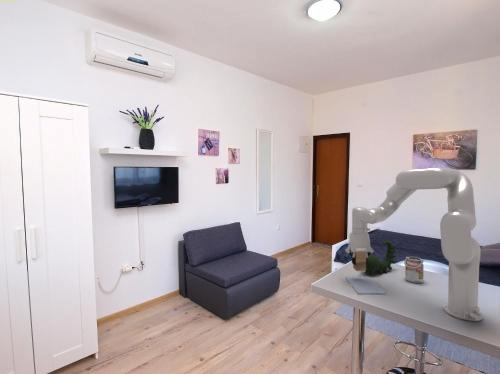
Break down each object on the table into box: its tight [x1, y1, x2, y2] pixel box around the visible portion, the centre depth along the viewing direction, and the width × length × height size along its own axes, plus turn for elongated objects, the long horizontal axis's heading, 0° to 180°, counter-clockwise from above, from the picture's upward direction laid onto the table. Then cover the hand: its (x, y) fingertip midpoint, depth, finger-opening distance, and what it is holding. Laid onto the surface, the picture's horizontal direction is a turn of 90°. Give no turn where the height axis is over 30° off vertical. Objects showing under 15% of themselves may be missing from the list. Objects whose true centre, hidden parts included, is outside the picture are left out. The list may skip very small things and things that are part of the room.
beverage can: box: [403, 256, 424, 284], centre depth 142 cm, size 9×8×12 cm
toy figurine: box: [364, 240, 397, 276], centre depth 155 cm, size 9×19×25 cm
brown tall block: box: [352, 248, 366, 272], centre depth 144 cm, size 5×5×12 cm
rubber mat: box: [344, 276, 387, 295], centre depth 138 cm, size 20×13×1 cm, turn 178°
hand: (359, 264), depth 144 cm, fingers closed on brown tall block, 5 cm apart
